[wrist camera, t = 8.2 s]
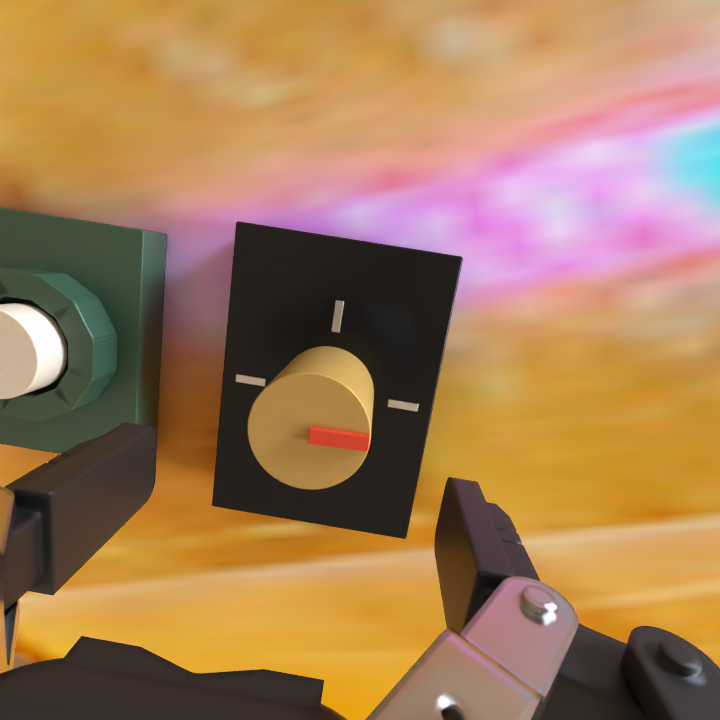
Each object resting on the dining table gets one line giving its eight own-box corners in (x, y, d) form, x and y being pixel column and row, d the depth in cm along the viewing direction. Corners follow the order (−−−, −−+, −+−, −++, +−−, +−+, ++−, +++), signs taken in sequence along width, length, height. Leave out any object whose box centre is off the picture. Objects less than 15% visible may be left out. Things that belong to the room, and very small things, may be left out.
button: (-18, 296, 19) (-58, 299, 17) (68, 310, 19) (37, 314, 17) (-15, 380, 20) (-52, 391, 18) (68, 394, 20) (38, 406, 18)
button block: (-4, 206, 22) (-88, 193, 18) (167, 233, 22) (120, 226, 18) (3, 423, 24) (-69, 453, 21) (156, 449, 24) (112, 484, 20)
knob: (277, 430, 20) (241, 485, 15) (284, 340, 19) (248, 367, 14) (367, 442, 20) (362, 501, 15) (379, 352, 19) (378, 383, 14)
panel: (256, 227, 21) (234, 220, 18) (452, 258, 21) (464, 256, 18) (231, 477, 24) (209, 508, 21) (403, 506, 24) (406, 542, 21)
